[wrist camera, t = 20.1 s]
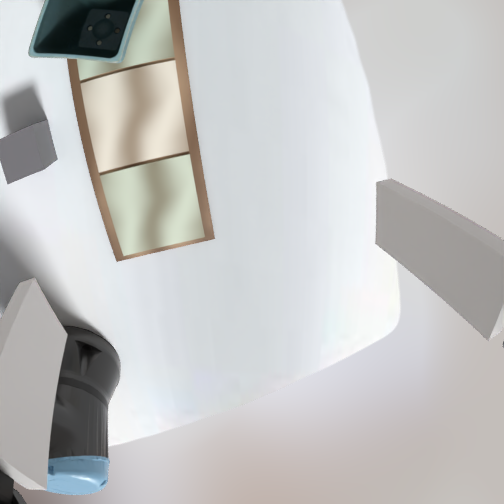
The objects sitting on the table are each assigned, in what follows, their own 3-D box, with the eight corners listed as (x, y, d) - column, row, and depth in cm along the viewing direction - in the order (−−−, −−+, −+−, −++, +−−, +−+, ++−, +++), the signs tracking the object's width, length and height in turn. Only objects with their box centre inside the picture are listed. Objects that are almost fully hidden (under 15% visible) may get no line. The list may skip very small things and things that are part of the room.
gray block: (23, 172, 30) (7, 184, 26) (13, 134, 28) (-5, 141, 24) (57, 159, 31) (44, 169, 27) (47, 119, 29) (32, 124, 24)
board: (117, 259, 39) (116, 262, 38) (63, -2, 22) (60, -4, 21) (214, 236, 41) (215, 239, 41) (175, -30, 24) (175, -32, 23)
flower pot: (79, -8, 22) (57, -34, 14) (154, -2, 25) (152, -29, 17) (56, 63, 25) (26, 57, 18) (130, 70, 28) (119, 64, 21)
